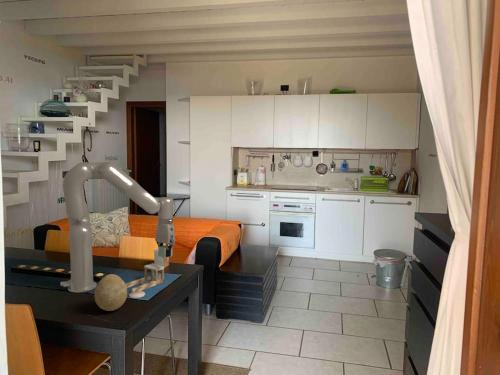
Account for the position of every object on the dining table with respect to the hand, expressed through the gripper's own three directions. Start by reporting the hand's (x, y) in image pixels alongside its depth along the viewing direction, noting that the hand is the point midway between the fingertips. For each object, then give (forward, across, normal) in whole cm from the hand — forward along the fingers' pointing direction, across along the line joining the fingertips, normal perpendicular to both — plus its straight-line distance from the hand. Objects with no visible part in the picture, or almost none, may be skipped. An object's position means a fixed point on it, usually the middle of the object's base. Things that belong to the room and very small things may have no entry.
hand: (164, 255), depth 188 cm
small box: (+12, +14, -11) cm, 22 cm away
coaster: (+12, -9, +23) cm, 28 cm away
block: (+1, 0, 0) cm, 1 cm away
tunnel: (+12, -1, +14) cm, 19 cm away
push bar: (+13, 0, +8) cm, 15 cm away
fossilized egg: (+13, -13, +39) cm, 43 cm away
